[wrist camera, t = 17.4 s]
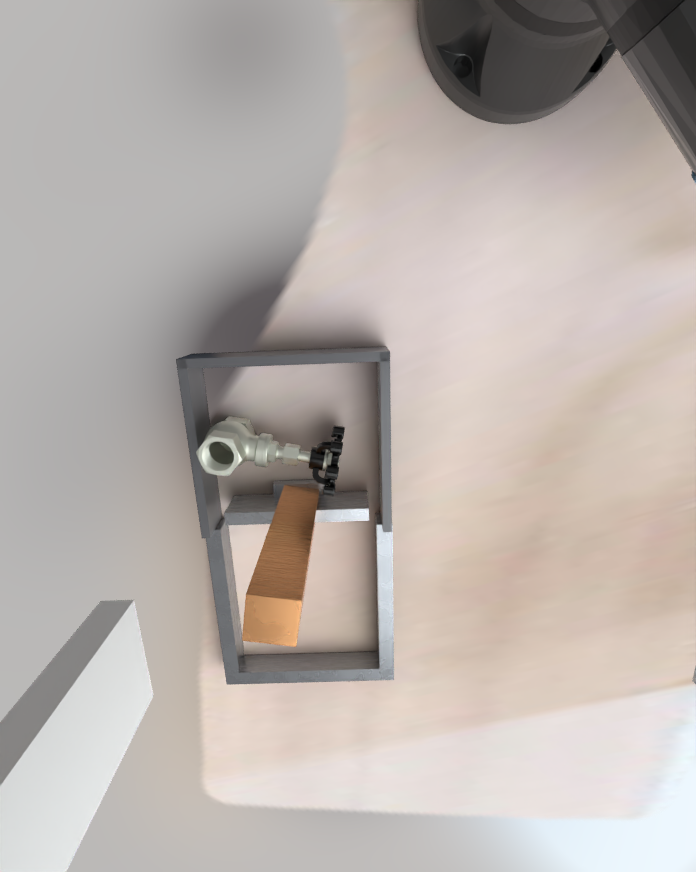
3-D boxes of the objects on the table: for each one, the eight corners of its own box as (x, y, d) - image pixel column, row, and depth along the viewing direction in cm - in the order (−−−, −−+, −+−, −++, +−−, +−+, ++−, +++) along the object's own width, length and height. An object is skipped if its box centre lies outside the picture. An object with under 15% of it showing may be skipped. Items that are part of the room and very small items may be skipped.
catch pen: (385, 346, 41) (389, 351, 37) (388, 512, 45) (391, 532, 42) (192, 353, 41) (176, 359, 37) (214, 518, 46) (202, 538, 42)
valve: (212, 462, 44) (333, 481, 45) (190, 489, 38) (331, 511, 38) (218, 396, 42) (345, 417, 43) (195, 413, 36) (344, 438, 36)
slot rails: (390, 512, 45) (392, 524, 43) (391, 661, 51) (393, 679, 48) (212, 518, 46) (204, 530, 43) (232, 666, 51) (226, 684, 49)
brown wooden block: (366, 477, 44) (377, 590, 27) (367, 514, 46) (379, 644, 28) (233, 482, 45) (160, 596, 27) (237, 518, 46) (170, 650, 28)
